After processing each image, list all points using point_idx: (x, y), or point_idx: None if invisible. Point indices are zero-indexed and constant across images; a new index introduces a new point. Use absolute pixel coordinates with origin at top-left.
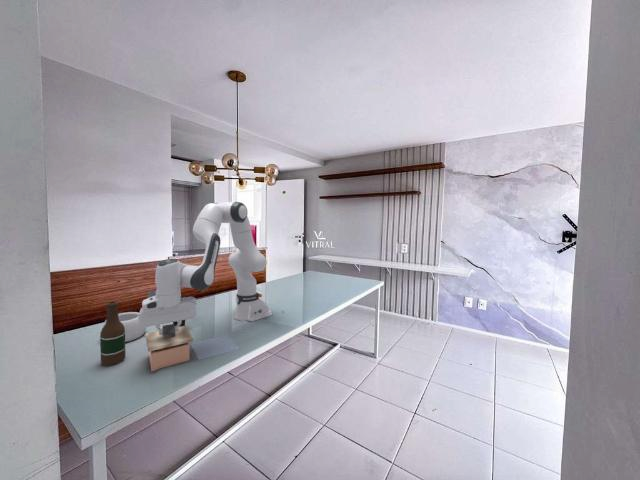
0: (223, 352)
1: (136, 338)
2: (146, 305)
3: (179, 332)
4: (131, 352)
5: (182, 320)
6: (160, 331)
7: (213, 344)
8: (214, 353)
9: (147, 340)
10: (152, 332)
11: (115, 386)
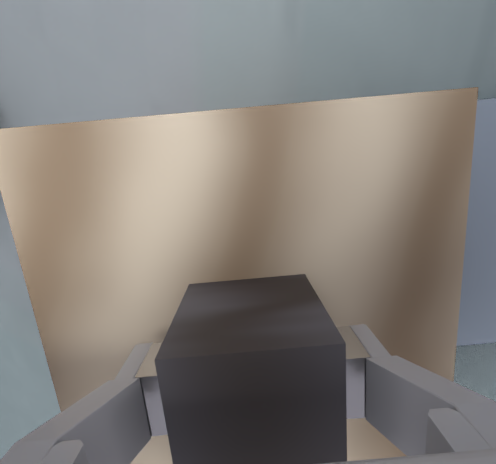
0: None
1: None
2: None
3: (363, 288)
4: (17, 35)
5: None
6: (145, 427)
7: None
8: (475, 323)
9: (49, 349)
10: (64, 134)
11: (36, 391)
